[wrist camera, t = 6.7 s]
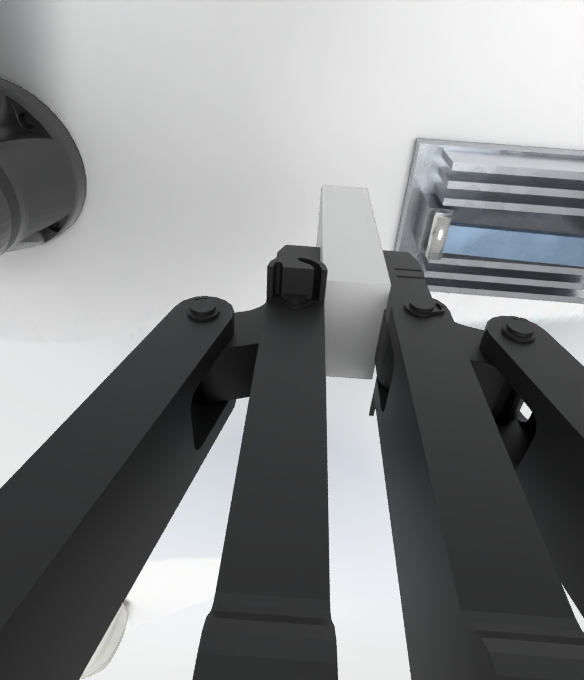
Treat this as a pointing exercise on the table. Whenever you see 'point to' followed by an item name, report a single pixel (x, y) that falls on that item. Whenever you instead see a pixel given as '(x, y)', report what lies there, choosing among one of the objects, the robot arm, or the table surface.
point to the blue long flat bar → (503, 243)
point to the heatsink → (494, 214)
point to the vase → (107, 644)
